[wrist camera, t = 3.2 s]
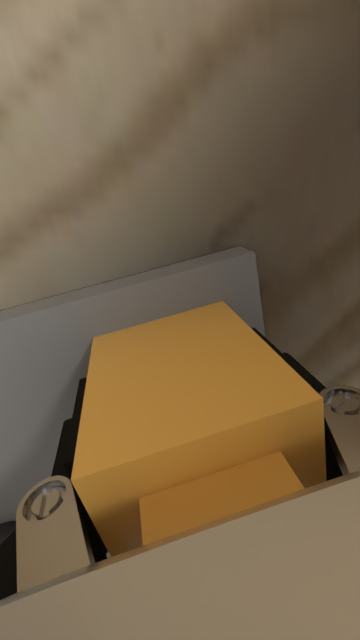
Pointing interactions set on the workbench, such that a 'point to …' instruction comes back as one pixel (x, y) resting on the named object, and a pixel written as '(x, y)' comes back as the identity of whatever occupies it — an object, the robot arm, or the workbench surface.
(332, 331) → the workbench surface
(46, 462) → the board
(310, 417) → the stepped orange block
